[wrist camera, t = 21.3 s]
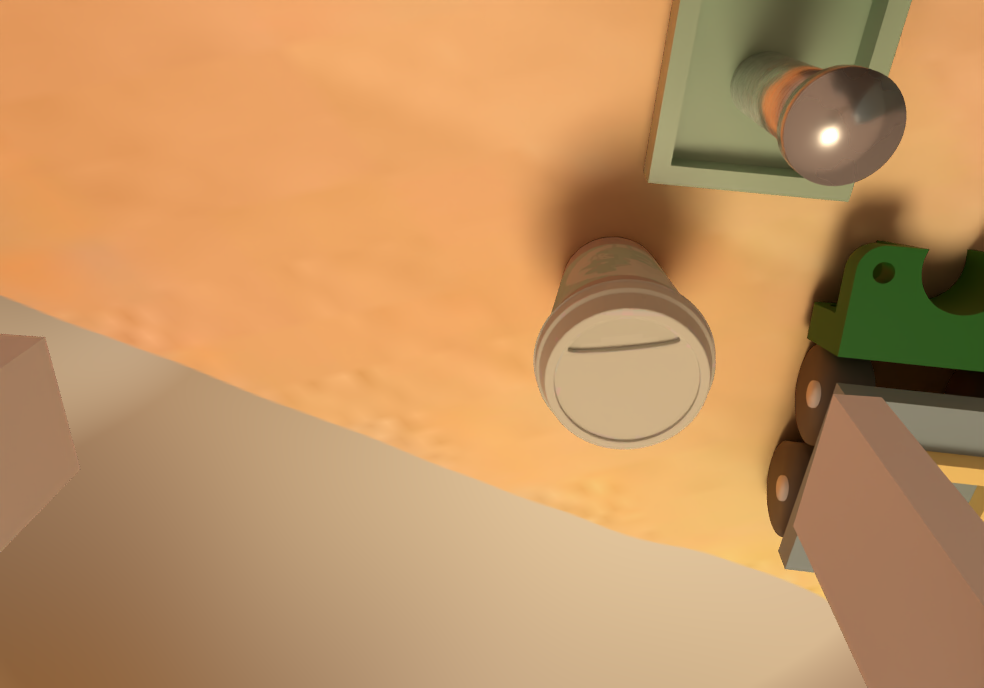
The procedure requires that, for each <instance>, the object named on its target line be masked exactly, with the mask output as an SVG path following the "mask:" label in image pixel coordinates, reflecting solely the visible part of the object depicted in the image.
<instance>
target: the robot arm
mask: <svg viewBox="0 0 984 688" xmlns="http://www.w3.org/2000/svg"><path fill="white" fill-rule="evenodd" d="M79 470H80V466H79V462H78V458H77V455H76V451H75V448H74V443H73V440H72V436H71V432H70V428H69V425H68V421H67V417H66V414H65V410H64V406H63V403H62V399H61V395H60V391H59V387H58V384H57V380H56V376H55V373H54V369H53V365H52V361H51V358H50V354H49V350H48V346H47V343H46V339H45V337H36V336H21V335H8V334H0V552H1V551H2V550H3V549H4V548H5V547H6V546H7V545H8V544H9V543H10V542H11V541H12V540H13V539H14V538H15V537H16V536H17V535H18V534H19V533H20V532H21V531H22V530H23V528H24V527H25V526H26V525H27V524H28V523H29V522H30V521H31V520H32V519H33V518H34V517H35V516H36V515H37V514H38V513H39V512H40V511H41V510H42V509H43V508H44V507H45V506H46V505H47V504H48V502H49V501H50V500H51V499H52V498H53V497H54V496H55V495H56V494H57V493H58V492H59V491H60V490H61V489H62V488H63V487H64V486H65V485H66V484H67V483H68V482H69V481H70V480H71V479H72V478H73V477H74V475H76V474H77V472H78V471H79ZM793 527H794V529H795V531H796V533H797V535H798V538H799V540H800V542H801V544H802V546H803V548H804V551H805V553H806V555H807V557H808V559H809V562H810V564H811V566H812V568H813V570H814V572H815V575H816V577H817V579H818V581H819V583H820V585H821V588H822V590H823V592H824V594H825V596H826V599H827V601H828V603H829V605H830V607H831V609H832V612H833V614H834V616H835V618H836V620H837V622H838V625H839V627H840V629H841V631H842V633H843V636H844V638H845V640H846V642H847V644H848V646H849V649H850V651H851V653H852V655H853V657H854V659H855V662H856V664H857V666H858V668H859V670H860V673H861V675H862V677H863V679H864V681H865V684H866V686H867V688H984V522H983V520H982V519H981V518H980V517H979V516H978V514H977V513H976V512H975V511H974V509H973V508H972V507H971V506H970V505H969V503H968V502H967V501H966V500H965V498H964V497H963V496H962V495H961V494H960V492H959V491H958V490H957V489H956V487H955V486H954V485H953V484H952V483H951V481H950V480H949V479H948V478H947V476H946V475H945V474H944V473H943V472H942V470H941V469H940V468H939V467H938V465H937V464H936V463H935V462H934V461H933V459H932V458H931V457H930V456H929V454H928V453H927V452H926V451H925V450H924V448H923V447H922V446H921V445H920V443H919V442H918V441H917V440H916V439H915V437H914V436H913V435H912V434H911V432H910V431H909V430H908V429H907V428H906V426H905V425H904V424H903V423H902V421H901V420H900V419H899V418H898V417H897V415H896V414H895V413H894V412H893V410H892V409H891V408H890V407H889V406H888V404H887V403H886V402H885V401H884V399H883V398H882V397H870V396H856V395H842V394H833V397H832V400H831V404H830V407H829V410H828V413H827V417H826V420H825V423H824V427H823V430H822V433H821V436H820V440H819V443H818V446H817V450H816V453H815V456H814V459H813V463H812V466H811V469H810V473H809V476H808V479H807V482H806V486H805V489H804V492H803V495H802V499H801V502H800V505H799V509H798V512H797V515H796V518H795V522H794V525H793Z"/></svg>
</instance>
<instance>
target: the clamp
mask: <svg viewBox="0 0 984 688" xmlns="http://www.w3.org/2000/svg"><path fill="white" fill-rule="evenodd" d="M928 251H929V249H924V248H919V247H913V246H908V245H902V244H897V243H892V242H885V241H877V242H876V243H870V244H866V245H863V246H861V247H859V248H858V249H856V250H855V251H854V252H853V253H852V254H851V255H850V256H849V258H848V260H847V262H846V265H845V269H844V274H843V278H842V283H841V288H840V293H839V297H838V302H837V303H830V302H814V306H813V311H812V316H811V321H810V326H809V331H808V336H807V338H808V339H809V340H811V341H813V342H814V343H816V344H818V345H819V346H821V347H823V348H824V349H826V350H828V351H829V352H831V353H833V354H834V355H836V356H838V357H846V358H856V359H865V360H875V361H884V362H894V363H903V364H913V365H922V366H932V367H941V368H951V369H961V370H970V371H980V372H984V252H983V251H977V250H967V257H966V263H965V267H964V269H963V272H962V274H961V276H960V277H959V279H958V280H957V281H956V283H955V284H954V285H953V286H952V287H951V288H950V289H948V290H947V291H946V292H944V293H943V294H941V295H939V296H937V297H934V298H931V299H929V298H928V297H927V295H926V293H925V291H924V288H923V284H922V266H923V262H924V259H925V257H926V255H927V253H928Z"/></svg>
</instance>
